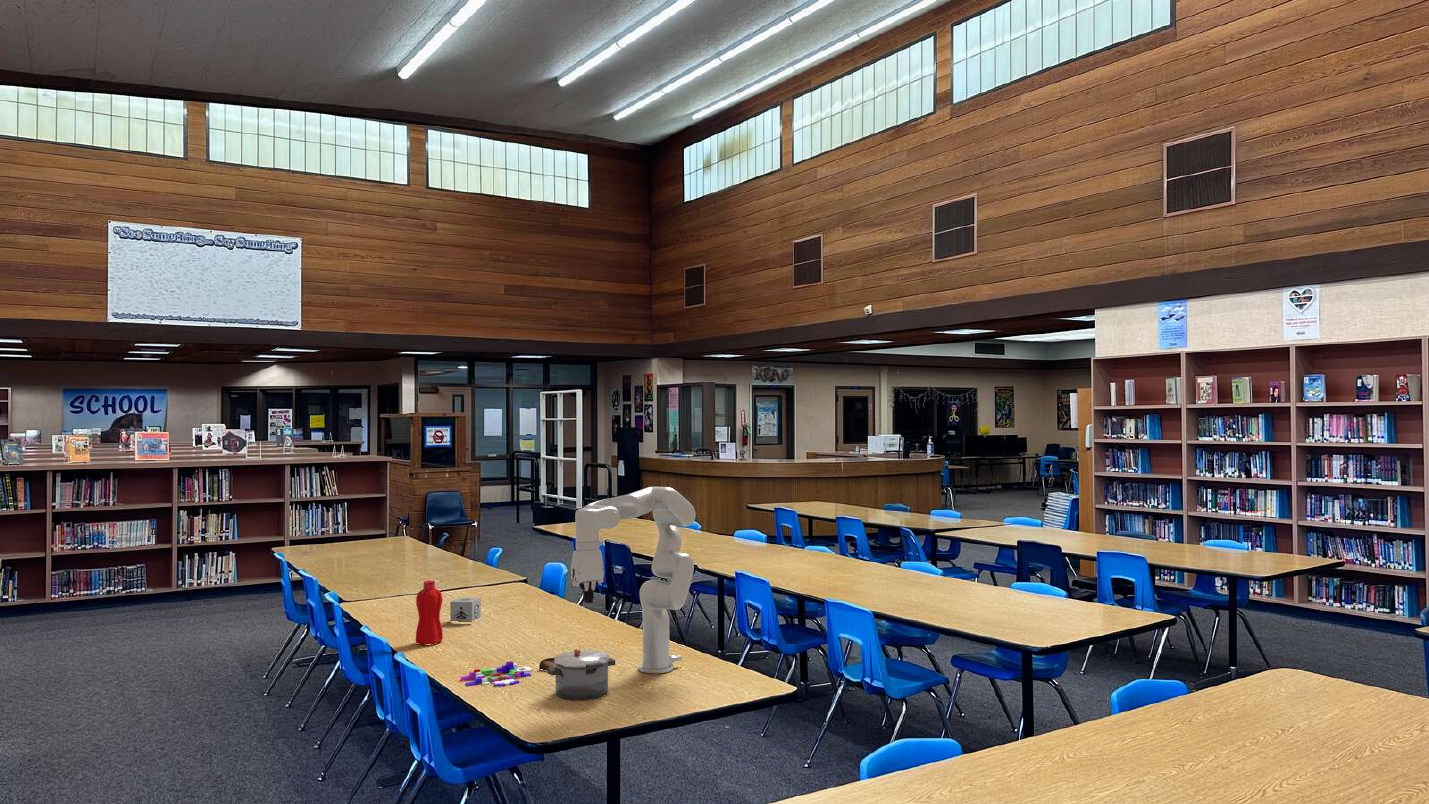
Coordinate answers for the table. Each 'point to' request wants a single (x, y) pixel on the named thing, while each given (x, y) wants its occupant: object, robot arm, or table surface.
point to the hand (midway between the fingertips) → (588, 602)
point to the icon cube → (465, 609)
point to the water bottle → (429, 614)
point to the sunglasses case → (547, 663)
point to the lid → (582, 659)
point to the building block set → (488, 674)
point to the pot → (581, 682)
